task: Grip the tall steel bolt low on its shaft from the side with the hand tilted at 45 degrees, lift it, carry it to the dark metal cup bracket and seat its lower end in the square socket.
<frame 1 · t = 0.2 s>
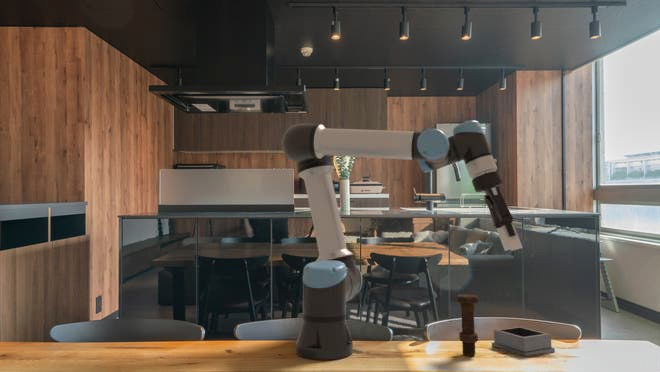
hand: (513, 249, 109), 27 cm above the table, tool tilted 15°, fingers open, 13 cm apart
bolt: (469, 355, 107), on the table
cup bracket: (522, 349, 112), on the table
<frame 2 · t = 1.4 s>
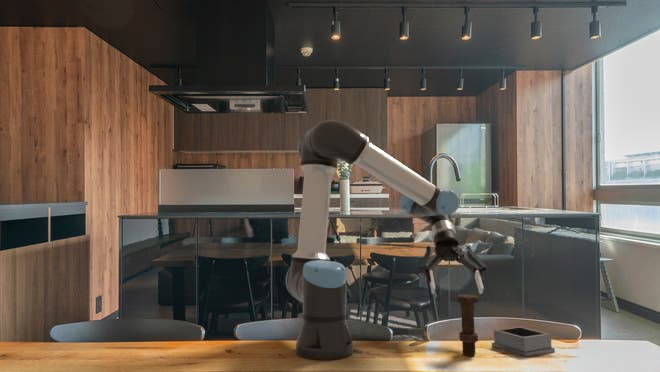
hand: (457, 291, 119), 15 cm above the table, tool tilted 45°, fingers open, 13 cm apart
nothing on the table moved.
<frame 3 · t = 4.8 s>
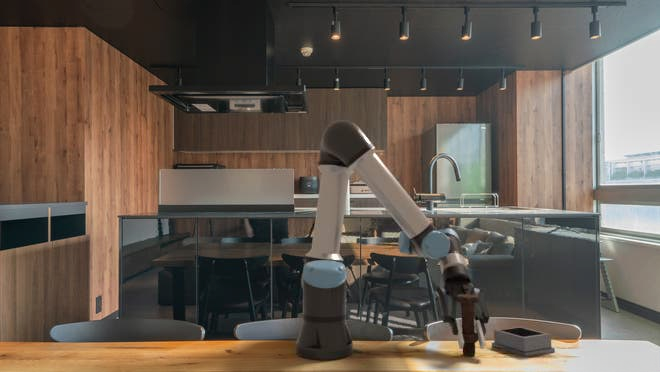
hand: (472, 345, 104), 3 cm above the table, tool tilted 45°, fingers closed on bolt, 4 cm apart
bolt: (469, 355, 107), on the table, touching gripper
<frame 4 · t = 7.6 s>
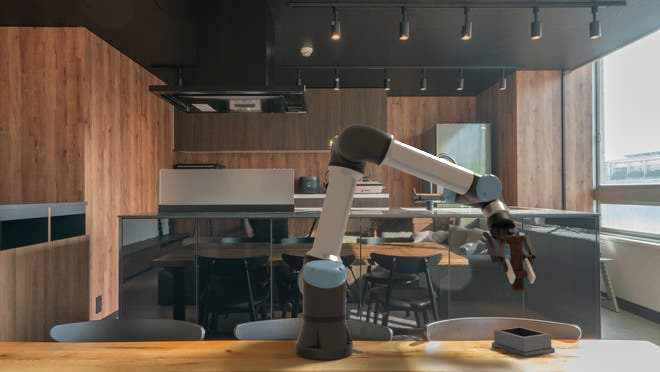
hand: (522, 280, 110), 19 cm above the table, tool tilted 45°, fingers closed on bolt, 4 cm apart
bolt: (518, 291, 114), point 15 cm above the table, touching gripper
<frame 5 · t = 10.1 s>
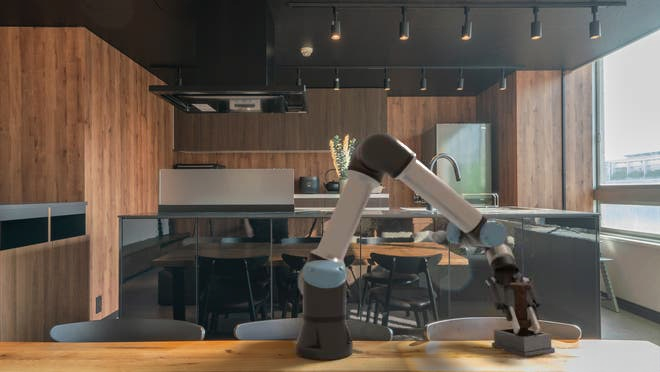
hand: (527, 330, 109), 6 cm above the table, tool tilted 45°, fingers closed on bolt, 4 cm apart
bolt: (522, 340, 113), point 2 cm above the table, touching gripper
when the fingers open (6 cm above the table, at t = 11.5 s): bolt stays where it is, resting on cup bracket.
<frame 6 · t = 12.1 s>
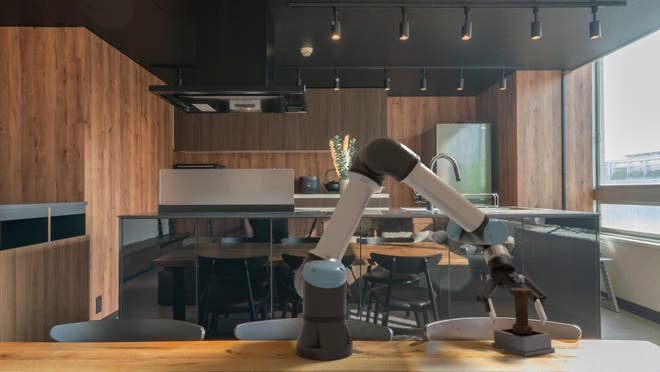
hand: (519, 321, 115), 7 cm above the table, tool tilted 45°, fingers open, 13 cm apart
bolt: (523, 346, 112), point 1 cm above the table, touching cup bracket
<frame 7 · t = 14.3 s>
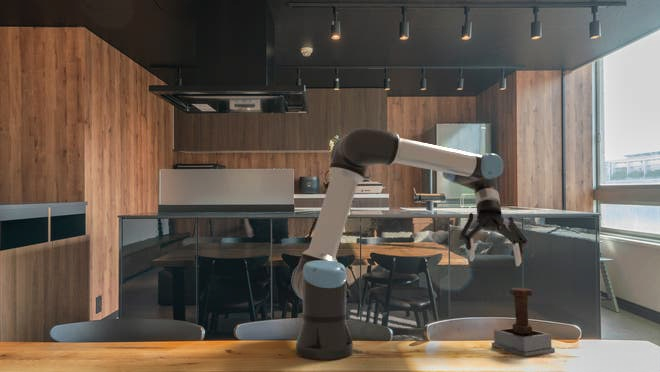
hand: (495, 261, 125), 23 cm above the table, tool tilted 35°, fingers open, 13 cm apart
nothing on the table moved.
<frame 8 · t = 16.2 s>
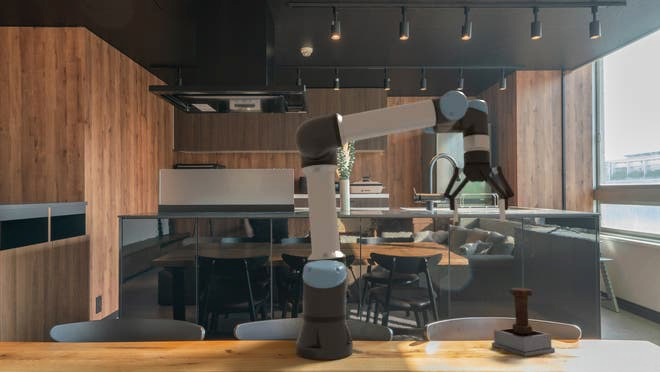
hand: (479, 221, 124), 35 cm above the table, tool pointing down, fingers open, 13 cm apart
nothing on the table moved.
at the end: bolt 0.2 cm off-centre on the cup bracket, point 0.8 cm above the cup bracket's base; the gripper is holding nothing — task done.
